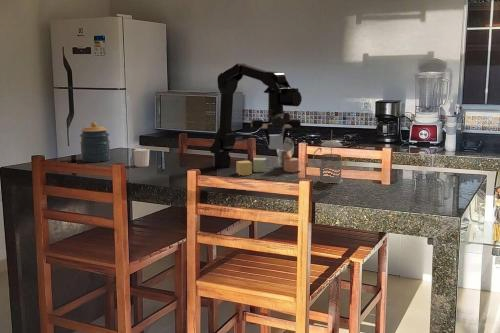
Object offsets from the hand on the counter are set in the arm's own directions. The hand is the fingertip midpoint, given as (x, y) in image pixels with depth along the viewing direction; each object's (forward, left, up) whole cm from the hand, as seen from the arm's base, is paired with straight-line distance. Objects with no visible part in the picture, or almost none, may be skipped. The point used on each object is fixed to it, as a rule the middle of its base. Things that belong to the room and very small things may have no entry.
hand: (275, 145), depth 217 cm
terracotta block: (+8, +8, -12) cm, 17 cm away
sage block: (-5, +11, -12) cm, 17 cm away
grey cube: (0, 0, -1) cm, 1 cm away
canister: (-76, +45, -12) cm, 89 cm away
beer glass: (+7, +19, -10) cm, 22 cm away
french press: (+18, -12, -12) cm, 25 cm away
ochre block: (-12, +5, -12) cm, 18 cm away
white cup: (-54, +29, -12) cm, 62 cm away
